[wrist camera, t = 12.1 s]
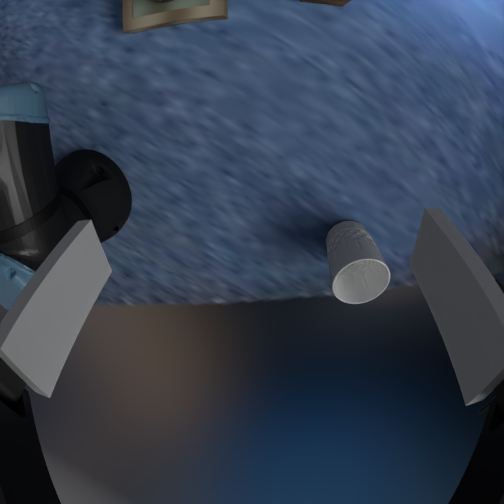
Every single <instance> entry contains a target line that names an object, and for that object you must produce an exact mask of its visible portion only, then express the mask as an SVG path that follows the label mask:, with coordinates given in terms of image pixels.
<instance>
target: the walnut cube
mask: <svg viewBox="0 0 504 504" xmlns="http://www.w3.org/2000/svg"><path fill="white" fill-rule="evenodd" d="M350 1H351V0H300V2H309V3H319V4H327V5H335V6H341V7H342V6H344V5H345V4H347V3H348V2H350Z"/></svg>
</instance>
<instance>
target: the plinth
mask: <svg viewBox="0 0 504 504" xmlns="http://www.w3.org/2000/svg"><path fill="white" fill-rule="evenodd" d="M221 19H228V16H227V0H173V1H170V2H165V3H156V2H152V1H148V0H123V32H126V33H137V32H142V31H146V30H151V29H156V28H161V27H166V26H172V25H178V24H185V23H192V22H200V21H210V20H221Z"/></svg>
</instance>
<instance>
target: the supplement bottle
mask: <svg viewBox="0 0 504 504" xmlns="http://www.w3.org/2000/svg"><path fill="white" fill-rule="evenodd" d="M148 1H152V2H156V3H165V2H170V1H173V0H148Z"/></svg>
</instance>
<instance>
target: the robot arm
mask: <svg viewBox="0 0 504 504" xmlns="http://www.w3.org/2000/svg"><path fill="white" fill-rule="evenodd" d="M49 123H50V119H49V118H48V112H47V105H46V96H45V91H44V89H43V87H42V86H41V85H39V84H38V83H34V82H25V83H17V84H11V85H5V86H0V304H1V305H2V306H3V307H5V308H6V309H8V312H7V314H6V316H5V317H4V318H3V320H2V322H1V323H0V504H61V503H60V500H59V498H58V495H57V493H56V490H55V488H54V485H53V483H52V480H51V477H50V474H49V471H48V468H47V466H46V462H45V459H44V456H43V453H42V449H41V446H40V442H39V438H38V434H37V431H36V426H35V422H34V417H33V413H32V408H31V402H30V397H29V394H28V391H27V390H25V386H26V384H27V385H29V386H30V387H31V388H32V389H33V390H34V391H35V392H36V393H39V394H41V395H44V396H46V397H49V398H50V397H51V394H52V391H53V389H54V387H55V384H56V382H57V379H58V377H59V374H60V372H61V370H62V368H63V365H64V363H65V361H66V359H67V357H68V355H69V352H70V350H71V348H72V346H73V344H74V342H75V340H76V338H77V335H78V334H79V331H80V329H81V327H82V325H83V323H84V321H85V320H86V318H87V316H88V314H89V312H90V310H91V308H92V306H93V304H94V302H95V301H96V299H97V297H98V295H99V293H100V291H101V290H102V288H103V286H104V284H105V283H106V281H107V279H108V277H109V276H110V274H111V272H112V270H111V267H110V265H109V263H108V260H107V258H106V256H105V253H104V251H103V248H102V246H101V244H100V243H102V242H104V241H106V240H107V239H109V238H111V237H112V236H114V235H115V234H116V233H117V232H118V231H119V230H120V229H121V228H122V226H123V225H124V224H125V222H126V221H127V219H128V217H129V215H130V211H131V205H132V198H131V191H130V187H129V184H128V182H127V180H126V178H125V176H124V174H123V172H122V171H121V170H120V168H119V167H118V166H117V165H116V164H115V163H114V162H113V161H112V160H111V159H110V158H108V157H107V156H105V155H103V154H101V153H99V152H96V151H92V150H79V151H76V152H73V153H71V154H70V155H68V156H67V157H65V158H64V159H62V160H61V161H60V162H59V163H58V164H57V165H56V166H55V165H54V159H53V153H52V146H51V138H50V130H49ZM409 266H410V268H411V270H412V272H413V274H414V276H415V278H416V280H417V282H418V284H419V286H420V288H421V290H422V292H423V294H424V296H425V298H426V300H427V303H428V305H429V307H430V309H431V311H432V314H433V316H434V318H435V321H436V323H437V326H438V328H439V330H440V333H441V335H442V338H443V340H444V343H445V345H446V348H447V350H448V353H449V356H450V359H451V361H452V364H453V367H454V370H455V372H456V376H457V378H458V381H459V385H460V388H461V390H462V394H463V397H464V401H465V404H466V406H467V405H469V404H472V403H475V402H478V401H481V400H483V399H484V398H485V397H486V396H487V395H488V394H490V392H492V390H494V392H495V397H494V398H493V399H492V400H491V401H490V402H489V403H487V404H486V405H485V406H484V407H483V408H482V409H481V410H480V412H479V413H478V414H479V415H481V414H483V413H484V412H485V411H486V410H488V409H489V410H488V413H486V414H485V415H484V417H485V418H486V419H485V422H484V425H483V428H482V431H481V434H480V437H479V439H478V442H477V445H476V447H475V450H474V452H473V455H472V457H471V459H470V462H469V464H468V466H467V468H466V471H465V473H464V475H463V477H462V479H461V481H460V483H459V485H458V487H457V489H456V491H455V493H454V495H453V496H452V498H451V500H450V502H449V503H448V504H504V286H503V285H502V284H501V283H500V282H499V281H498V280H497V279H494V278H493V276H492V275H491V273H490V272H489V270H488V269H487V268H486V266H485V265H484V263H483V262H482V261H481V259H480V258H479V256H478V255H477V254H476V252H475V251H474V250H473V248H472V247H471V246H470V244H469V243H468V242H467V240H466V239H465V238H464V237H463V235H462V234H461V233H460V232H459V230H458V229H457V228H456V227H455V226H454V224H453V223H452V222H451V221H450V220H449V218H448V217H447V216H446V215H445V214H444V213H443V211H442V210H441V209H430V208H425V209H424V213H423V218H422V222H421V225H420V229H419V233H418V237H417V240H416V244H415V247H414V251H413V254H412V257H411V261H410V264H409Z"/></svg>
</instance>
